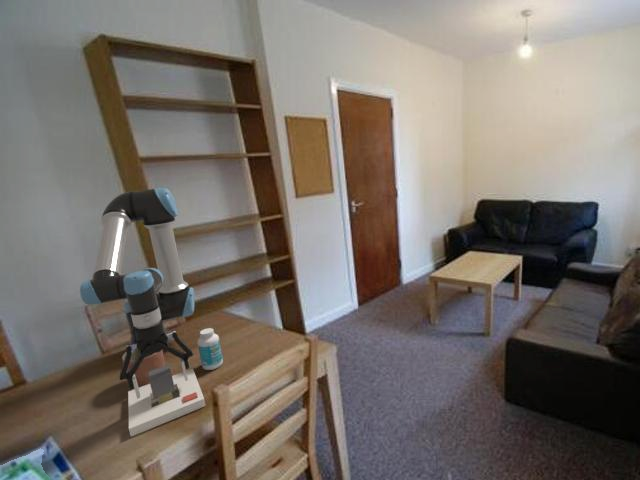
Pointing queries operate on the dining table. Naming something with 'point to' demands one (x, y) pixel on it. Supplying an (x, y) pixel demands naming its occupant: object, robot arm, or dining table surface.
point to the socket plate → (152, 413)
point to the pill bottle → (210, 349)
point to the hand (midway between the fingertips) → (163, 387)
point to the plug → (162, 384)
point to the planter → (145, 365)
